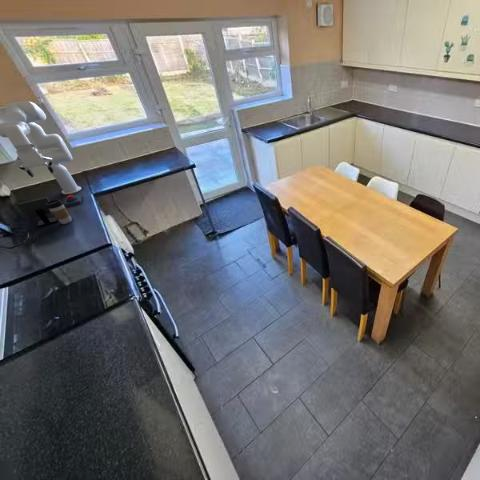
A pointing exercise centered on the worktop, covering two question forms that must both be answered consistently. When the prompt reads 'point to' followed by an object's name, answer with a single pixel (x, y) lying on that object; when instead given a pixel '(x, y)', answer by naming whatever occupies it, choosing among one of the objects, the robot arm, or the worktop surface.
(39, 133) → the robot arm
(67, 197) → the power button
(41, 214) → the monitor stand
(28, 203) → the screen
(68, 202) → the switch box
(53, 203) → the coffee cup
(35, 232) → the worktop surface
